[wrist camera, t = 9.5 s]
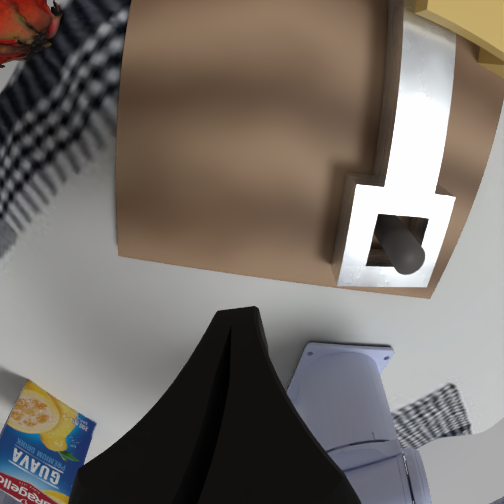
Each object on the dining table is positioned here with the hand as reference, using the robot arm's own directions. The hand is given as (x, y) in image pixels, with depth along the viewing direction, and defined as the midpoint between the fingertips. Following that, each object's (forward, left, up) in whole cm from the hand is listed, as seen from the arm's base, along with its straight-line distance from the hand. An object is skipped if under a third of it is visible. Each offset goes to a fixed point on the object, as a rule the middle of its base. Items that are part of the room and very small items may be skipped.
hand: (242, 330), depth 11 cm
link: (+6, -7, -9) cm, 13 cm away
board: (+6, -3, -10) cm, 12 cm away
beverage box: (-32, +22, -10) cm, 40 cm away
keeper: (+14, -9, -9) cm, 19 cm away
